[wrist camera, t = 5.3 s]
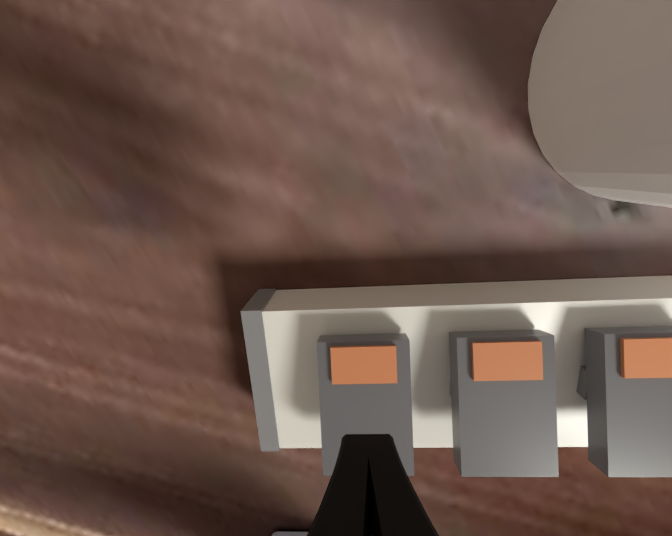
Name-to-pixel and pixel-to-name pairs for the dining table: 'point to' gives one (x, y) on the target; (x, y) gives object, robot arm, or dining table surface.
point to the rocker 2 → (504, 403)
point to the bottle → (606, 97)
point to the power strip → (432, 343)
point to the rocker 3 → (629, 400)
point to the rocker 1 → (365, 392)
